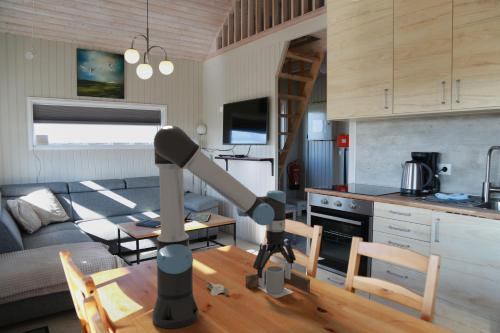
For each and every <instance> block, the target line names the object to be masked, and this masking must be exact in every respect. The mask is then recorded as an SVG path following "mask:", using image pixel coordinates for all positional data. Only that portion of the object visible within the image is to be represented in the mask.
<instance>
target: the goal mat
mask: <svg viewBox="0 0 500 333" xmlns="http://www.w3.org/2000/svg"><path fill="white" fill-rule="evenodd" d="M256 287H257V289H259V290H261V291H262V292H264V293H266V294H267V295H270V296H271V297H273V298H274V299H278V298H281V297H284V296H287V295H290V294H293V293H294V291H292V290H291V289H288V288H286V287H284V291H283V293H281V294H270V293H268V292H267V291H266V284H264V287H262V286H260V285H259V286H256Z"/></svg>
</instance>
